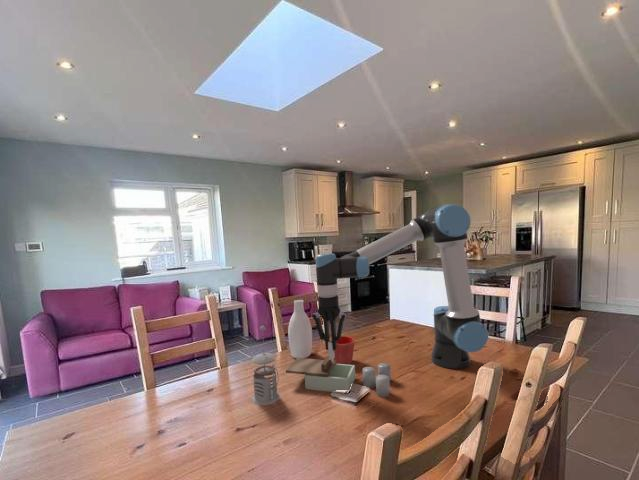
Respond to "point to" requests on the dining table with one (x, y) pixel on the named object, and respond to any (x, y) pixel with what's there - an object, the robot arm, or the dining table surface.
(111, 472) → the dining table surface
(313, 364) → the walnut lid
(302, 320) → the bottle
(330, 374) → the sage box
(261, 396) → the french press
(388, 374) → the grey cylinder
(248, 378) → the dining table surface
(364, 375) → the grey cylinder
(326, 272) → the robot arm
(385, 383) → the grey rounded cylinder
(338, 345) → the flower pot
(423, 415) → the dining table surface
